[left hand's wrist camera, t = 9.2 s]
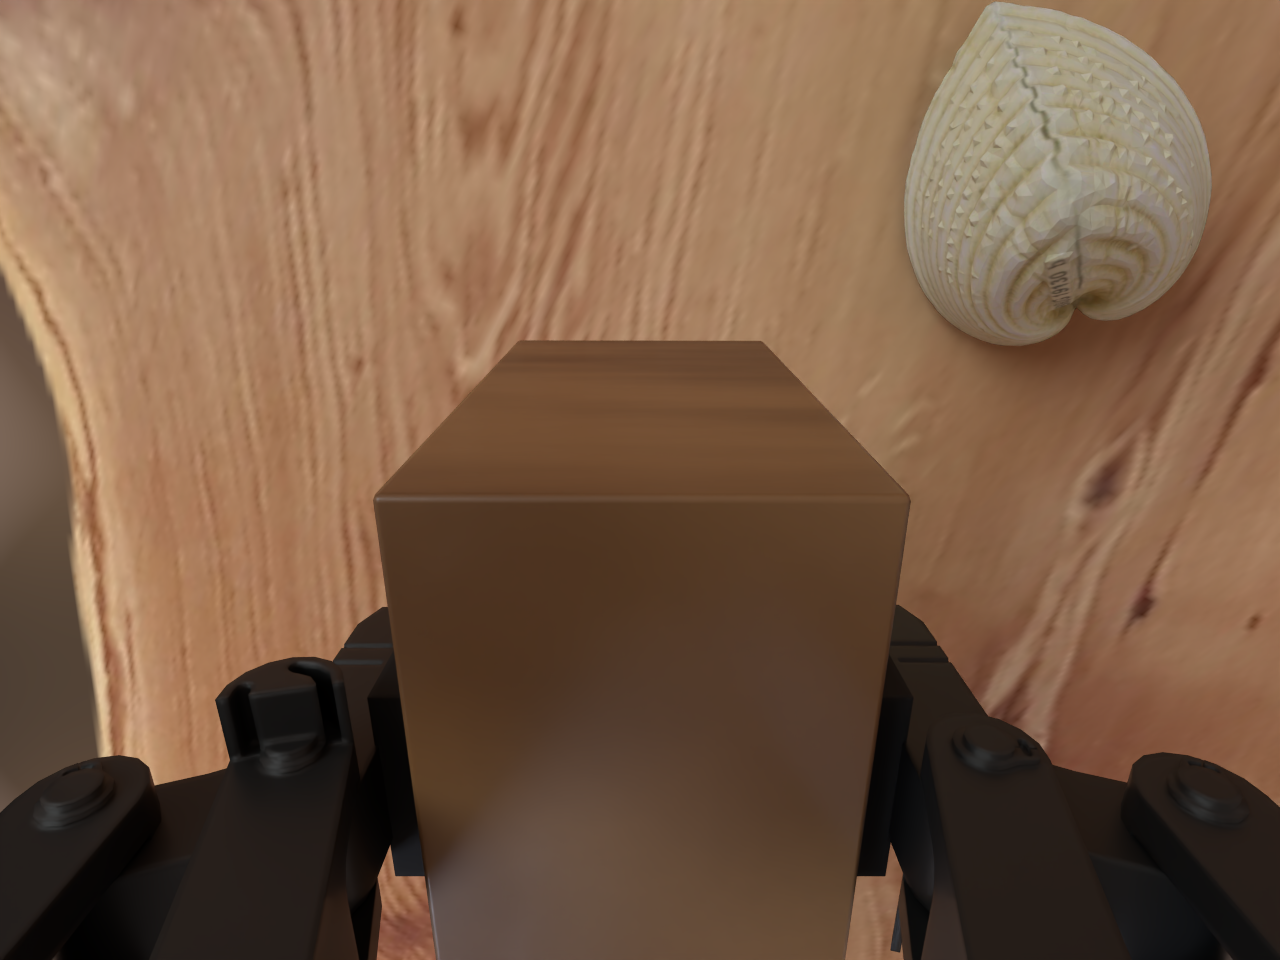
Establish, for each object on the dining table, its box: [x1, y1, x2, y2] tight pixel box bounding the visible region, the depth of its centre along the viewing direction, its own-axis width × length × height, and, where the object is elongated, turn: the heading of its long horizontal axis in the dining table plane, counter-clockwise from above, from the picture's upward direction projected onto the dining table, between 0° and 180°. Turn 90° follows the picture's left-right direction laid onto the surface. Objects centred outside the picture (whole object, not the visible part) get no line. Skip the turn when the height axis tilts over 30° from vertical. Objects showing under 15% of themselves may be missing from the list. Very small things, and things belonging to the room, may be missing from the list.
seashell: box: [904, 2, 1212, 346], centre depth 21 cm, size 8×8×8 cm
